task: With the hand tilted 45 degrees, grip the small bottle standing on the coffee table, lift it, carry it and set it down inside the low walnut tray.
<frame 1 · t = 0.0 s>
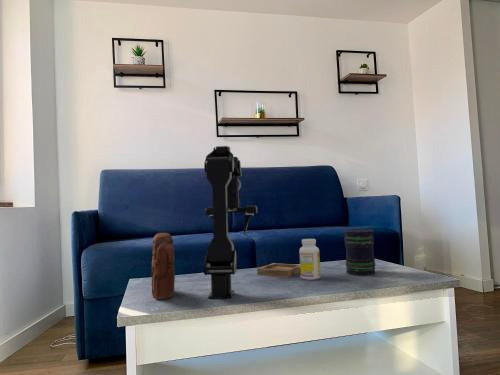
hand: (232, 233, 126), 15 cm above the table, tool pointing down, fingers open, 9 cm apart
supplement bottle: (310, 278, 115), on the table
storage jar: (360, 273, 120), on the table
walnut tray: (280, 272, 125), on the table
wooden figurine: (163, 295, 100), on the table
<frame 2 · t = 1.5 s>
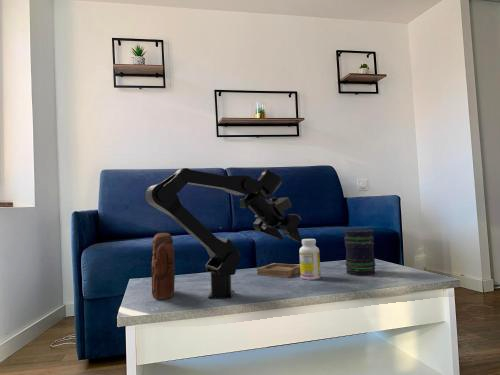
hand: (291, 240, 112), 13 cm above the table, tool tilted 45°, fingers open, 9 cm apart
nothing on the table moved.
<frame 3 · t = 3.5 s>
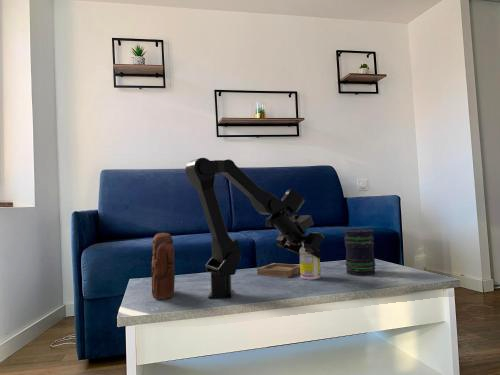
hand: (312, 256, 116), 7 cm above the table, tool tilted 45°, fingers closed on supplement bottle, 7 cm apart
supplement bottle: (310, 278, 115), on the table, touching gripper
everything else where it was.
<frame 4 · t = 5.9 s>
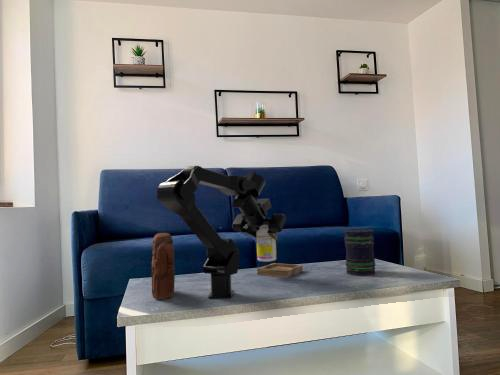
hand: (268, 238, 119), 13 cm above the table, tool tilted 45°, fingers closed on supplement bottle, 7 cm apart
supplement bottle: (266, 260, 118), point 6 cm above the table, touching gripper
everything else where it was.
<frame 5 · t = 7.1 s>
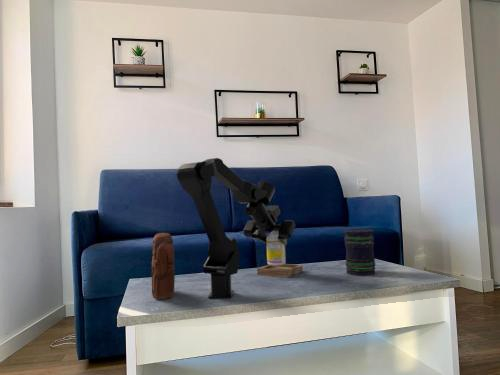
hand: (277, 243, 125), 11 cm above the table, tool tilted 45°, fingers closed on supplement bottle, 7 cm apart
supplement bottle: (276, 264, 123), point 3 cm above the table, touching gripper
everything else where it was.
when the fingers open (9 cm above the table, at t = 8.2 s): supplement bottle stays where it is, resting on walnut tray.
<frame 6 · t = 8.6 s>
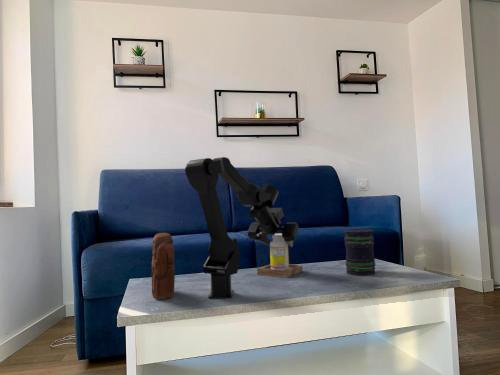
hand: (281, 245, 127), 10 cm above the table, tool tilted 45°, fingers open, 9 cm apart
supplement bottle: (279, 270, 125), point 1 cm above the table, touching walnut tray
everything else where it was.
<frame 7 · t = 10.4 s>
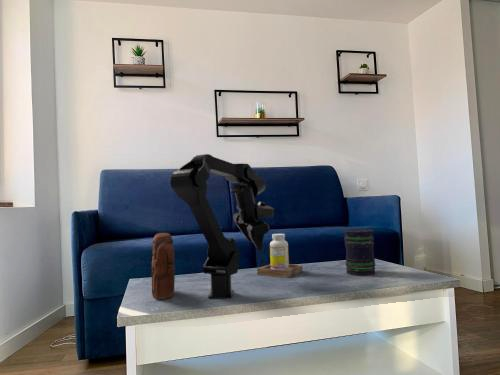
hand: (255, 245, 115), 11 cm above the table, tool tilted 20°, fingers open, 9 cm apart
nothing on the table moved.
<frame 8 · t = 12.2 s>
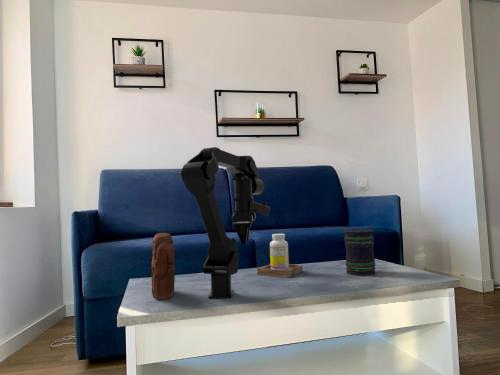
hand: (245, 242, 111), 13 cm above the table, tool pointing down, fingers open, 9 cm apart
nothing on the table moved.
at the end: supplement bottle inside the target area on the walnut tray (0.2 cm from its centre), point 1.0 cm above the walnut tray's base; supplement bottle tilted 0°; the gripper is holding nothing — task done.
